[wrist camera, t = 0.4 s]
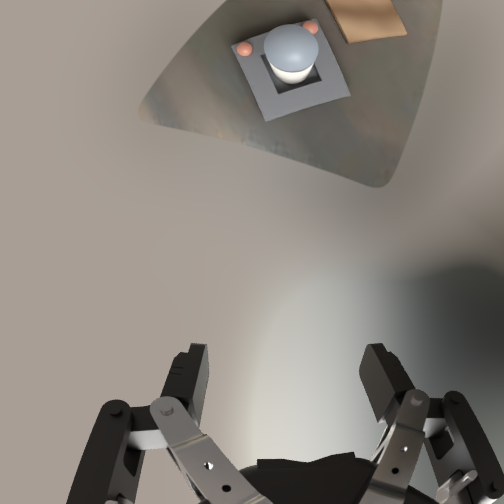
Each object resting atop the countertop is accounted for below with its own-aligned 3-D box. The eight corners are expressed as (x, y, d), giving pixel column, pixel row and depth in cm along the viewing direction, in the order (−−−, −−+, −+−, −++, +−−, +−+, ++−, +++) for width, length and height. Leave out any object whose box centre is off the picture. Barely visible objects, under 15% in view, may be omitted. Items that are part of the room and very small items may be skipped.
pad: (319, -9, 22) (319, -12, 21) (377, -17, 20) (378, -19, 19) (347, 44, 26) (348, 42, 25) (404, 35, 23) (407, 33, 22)
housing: (235, 50, 28) (229, 44, 25) (314, 24, 25) (316, 15, 22) (267, 121, 33) (264, 122, 30) (346, 96, 30) (352, 94, 26)
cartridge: (268, 60, 28) (255, 34, 17) (300, 49, 27) (305, 18, 16) (281, 89, 30) (276, 77, 19) (314, 79, 29) (326, 62, 17)
